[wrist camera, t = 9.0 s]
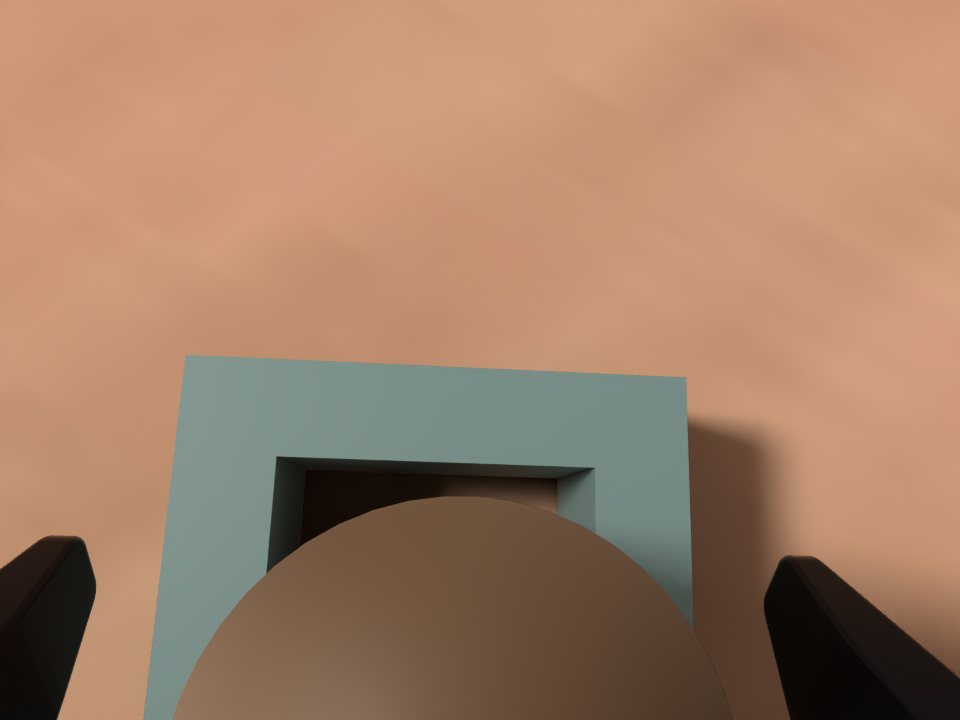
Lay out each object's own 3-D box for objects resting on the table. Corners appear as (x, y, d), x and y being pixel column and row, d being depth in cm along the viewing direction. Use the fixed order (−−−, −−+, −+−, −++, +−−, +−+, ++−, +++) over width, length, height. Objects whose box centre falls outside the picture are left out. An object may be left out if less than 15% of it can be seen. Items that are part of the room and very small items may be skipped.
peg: (434, 747, 17) (484, 1315, 5) (295, 616, 17) (18, 838, 5) (556, 597, 18) (854, 758, 6) (422, 474, 18) (439, 385, 6)
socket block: (637, 838, 17) (703, 933, 13) (189, 840, 16) (117, 941, 12) (630, 406, 19) (686, 377, 15) (234, 389, 18) (185, 354, 14)
